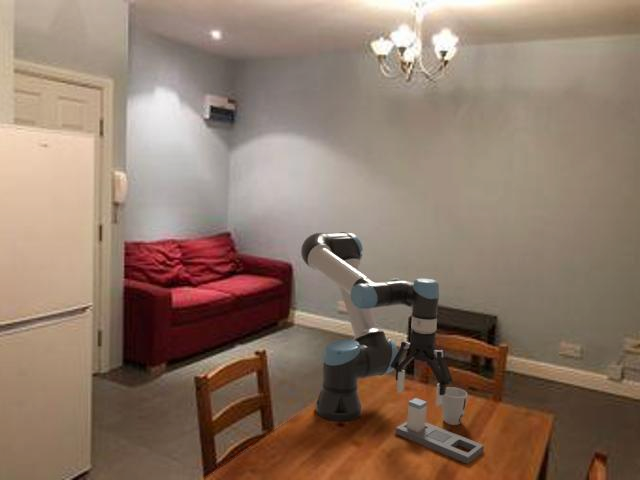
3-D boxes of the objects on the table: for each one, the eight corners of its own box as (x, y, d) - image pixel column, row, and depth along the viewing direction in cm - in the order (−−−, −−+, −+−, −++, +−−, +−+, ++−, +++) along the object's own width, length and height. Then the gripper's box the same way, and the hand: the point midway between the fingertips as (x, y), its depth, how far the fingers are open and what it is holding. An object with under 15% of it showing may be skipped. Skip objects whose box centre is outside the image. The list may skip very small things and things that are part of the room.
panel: (395, 433, 169) (396, 427, 169) (412, 423, 176) (413, 417, 176) (467, 464, 153) (468, 457, 153) (483, 451, 161) (483, 445, 160)
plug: (406, 432, 170) (408, 401, 168) (413, 428, 173) (415, 397, 171) (417, 437, 167) (420, 405, 166) (424, 433, 170) (426, 401, 169)
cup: (465, 428, 175) (468, 398, 173) (439, 425, 176) (441, 395, 175) (464, 417, 182) (466, 389, 181) (439, 414, 184) (441, 385, 183)
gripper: (382, 323, 171) (378, 389, 174) (455, 342, 155) (449, 414, 157) (395, 319, 177) (391, 383, 179) (467, 337, 160) (462, 406, 163)
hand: (418, 397), depth 168 cm, fingers open, 13 cm apart
